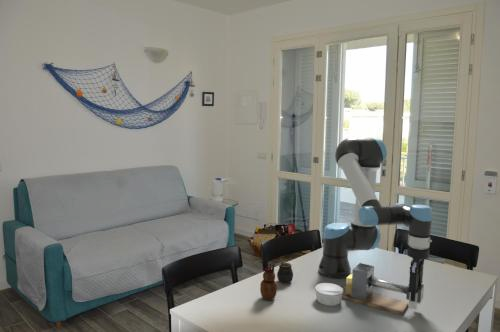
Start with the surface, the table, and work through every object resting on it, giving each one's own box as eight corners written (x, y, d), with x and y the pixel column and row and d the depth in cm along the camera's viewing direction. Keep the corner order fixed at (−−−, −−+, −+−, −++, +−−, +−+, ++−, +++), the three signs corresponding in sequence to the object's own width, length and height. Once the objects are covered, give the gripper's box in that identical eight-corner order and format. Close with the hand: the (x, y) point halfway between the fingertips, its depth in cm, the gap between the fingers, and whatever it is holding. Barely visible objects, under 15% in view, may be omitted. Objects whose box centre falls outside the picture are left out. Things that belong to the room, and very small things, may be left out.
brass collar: (345, 294, 161) (346, 277, 160) (351, 288, 167) (352, 272, 166) (351, 295, 160) (352, 279, 159) (357, 289, 165) (358, 273, 165)
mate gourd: (285, 286, 171) (285, 264, 170) (273, 281, 177) (273, 259, 176) (296, 282, 176) (296, 260, 175) (284, 277, 182) (284, 256, 181)
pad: (339, 294, 162) (339, 293, 161) (346, 286, 169) (346, 286, 169) (351, 297, 159) (351, 296, 159) (358, 289, 166) (358, 289, 166)
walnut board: (336, 296, 162) (336, 294, 162) (345, 288, 170) (345, 285, 170) (402, 315, 147) (402, 312, 147) (408, 305, 156) (408, 302, 155)
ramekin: (326, 309, 151) (326, 296, 150) (308, 298, 161) (309, 285, 160) (348, 304, 156) (349, 291, 155) (330, 293, 166) (331, 281, 165)
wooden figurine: (278, 296, 161) (279, 261, 159) (274, 302, 156) (275, 266, 154) (262, 294, 163) (263, 259, 161) (258, 299, 158) (259, 263, 156)
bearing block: (351, 297, 159) (352, 269, 157) (358, 289, 166) (359, 263, 165) (365, 301, 155) (367, 272, 154) (372, 293, 163) (374, 266, 161)
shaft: (354, 286, 160) (355, 274, 159) (358, 282, 164) (359, 270, 163) (420, 302, 146) (421, 289, 145) (423, 297, 150) (423, 285, 149)
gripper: (424, 255, 137) (419, 318, 140) (433, 242, 152) (429, 299, 155) (402, 250, 141) (398, 311, 144) (413, 238, 156) (409, 294, 159)
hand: (414, 305), depth 149 cm, fingers closed on shaft, 5 cm apart
